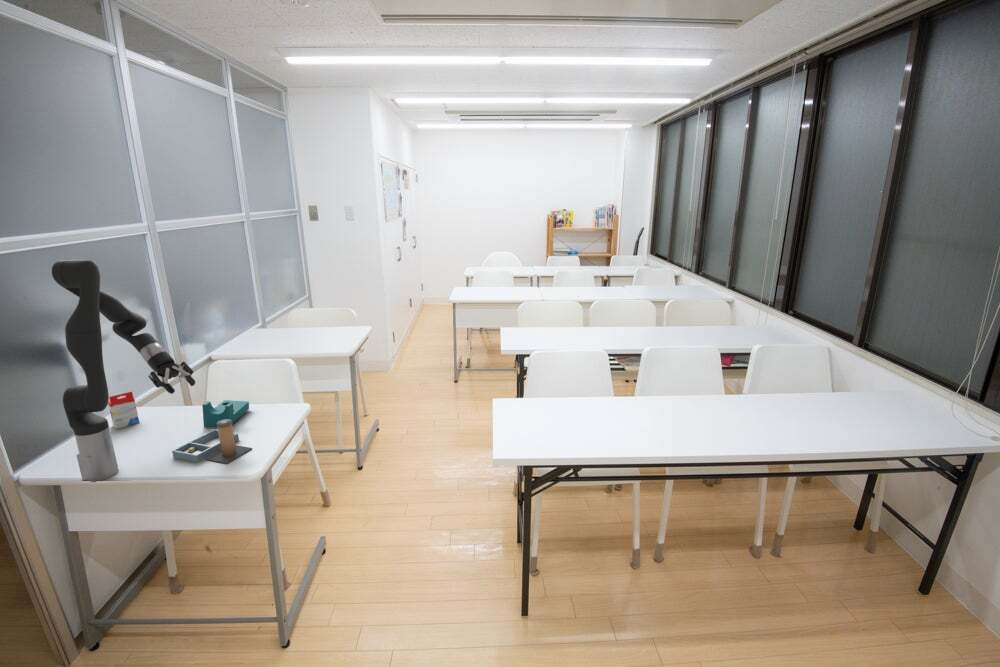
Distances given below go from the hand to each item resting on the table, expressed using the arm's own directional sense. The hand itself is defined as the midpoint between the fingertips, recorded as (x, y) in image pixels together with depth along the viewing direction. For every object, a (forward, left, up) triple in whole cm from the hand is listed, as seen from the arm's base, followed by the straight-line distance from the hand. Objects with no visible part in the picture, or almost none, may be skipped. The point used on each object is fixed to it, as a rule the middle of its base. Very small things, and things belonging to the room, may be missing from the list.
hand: (183, 388), depth 187 cm
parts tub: (-1, -8, -24) cm, 25 cm away
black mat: (-2, -20, -24) cm, 31 cm away
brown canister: (-2, -20, -23) cm, 31 cm away
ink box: (+5, +44, -24) cm, 50 cm away
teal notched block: (+23, +7, -24) cm, 34 cm away
